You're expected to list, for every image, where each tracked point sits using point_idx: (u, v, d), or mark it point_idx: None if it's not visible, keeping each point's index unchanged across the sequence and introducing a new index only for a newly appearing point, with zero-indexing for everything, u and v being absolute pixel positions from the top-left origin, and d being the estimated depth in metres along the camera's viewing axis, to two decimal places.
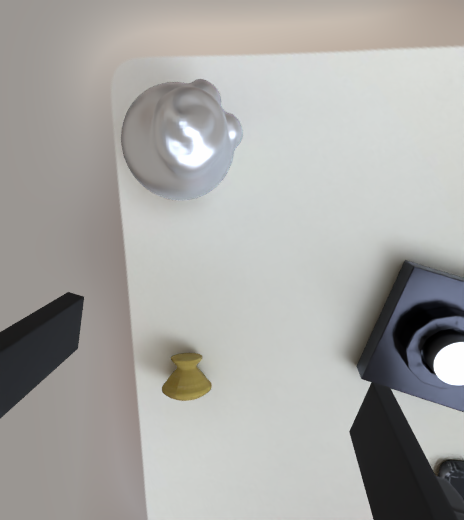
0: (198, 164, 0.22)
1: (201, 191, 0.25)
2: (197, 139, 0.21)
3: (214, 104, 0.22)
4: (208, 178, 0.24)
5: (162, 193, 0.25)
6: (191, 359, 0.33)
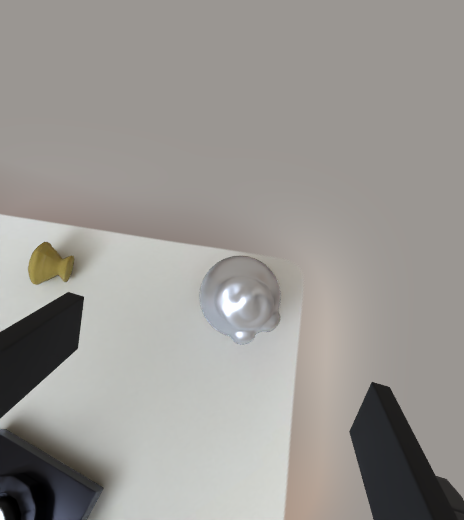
0: (220, 303, 0.31)
1: (203, 304, 0.33)
2: (236, 305, 0.30)
3: (259, 323, 0.31)
4: (211, 310, 0.32)
5: (206, 276, 0.34)
6: (66, 272, 0.38)
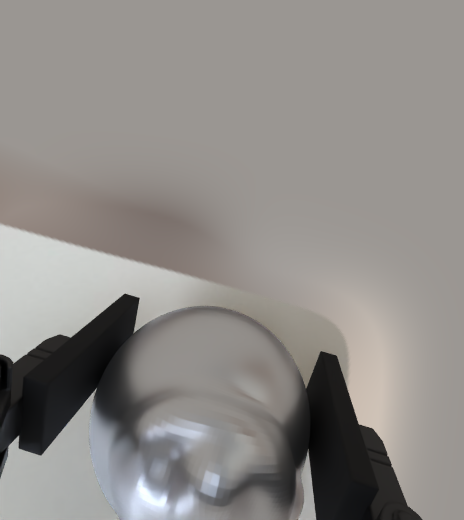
0: (118, 484, 0.09)
1: (89, 441, 0.12)
2: (168, 512, 0.08)
3: None
4: (101, 476, 0.11)
5: (115, 356, 0.12)
6: None
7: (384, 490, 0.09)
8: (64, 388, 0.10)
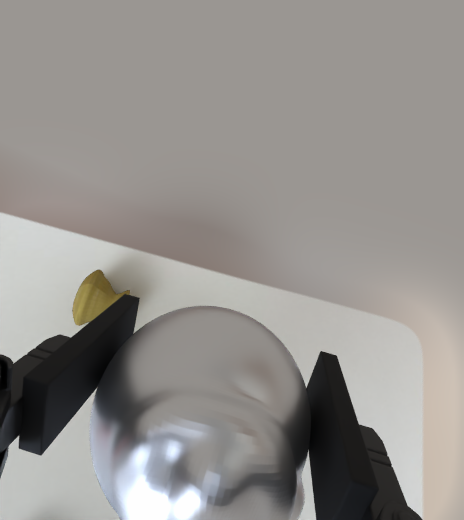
0: (118, 483, 0.09)
1: (90, 441, 0.12)
2: (168, 512, 0.08)
3: None
4: (102, 476, 0.11)
5: (115, 356, 0.12)
6: None
7: (384, 490, 0.09)
8: (64, 387, 0.10)
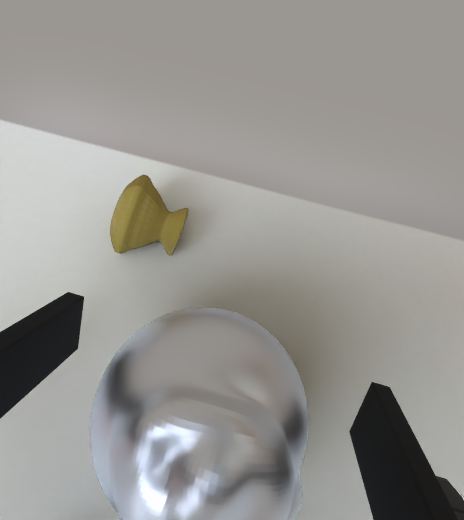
0: (119, 483, 0.09)
1: (90, 441, 0.12)
2: (168, 511, 0.08)
3: None
4: (102, 476, 0.11)
5: (115, 357, 0.13)
6: (179, 235, 0.20)
7: None
8: None
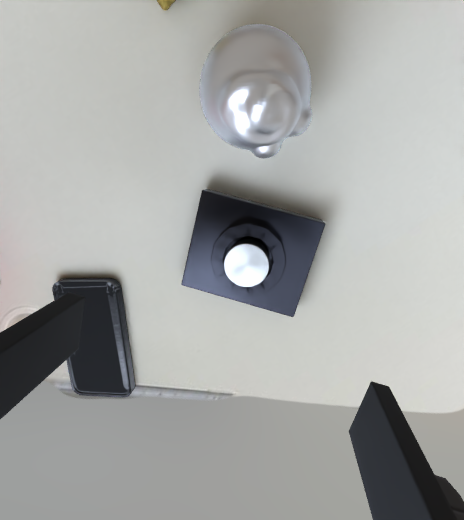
0: (227, 119, 0.23)
1: (207, 118, 0.26)
2: (249, 119, 0.22)
3: (283, 134, 0.23)
4: (219, 127, 0.25)
5: (202, 75, 0.24)
6: None
7: None
8: None
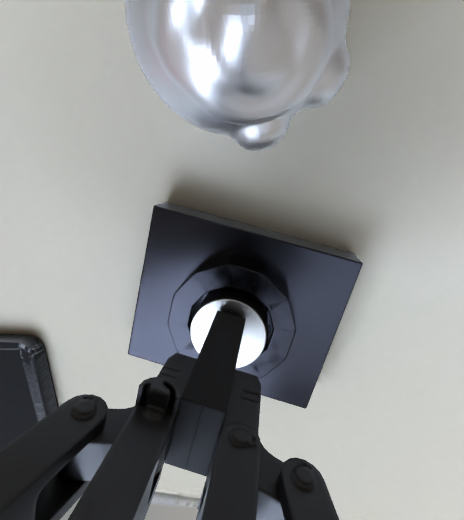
0: (171, 60, 0.10)
1: (144, 72, 0.13)
2: (216, 56, 0.10)
3: (293, 95, 0.11)
4: (164, 87, 0.12)
5: None
6: None
7: (242, 419, 0.11)
8: None
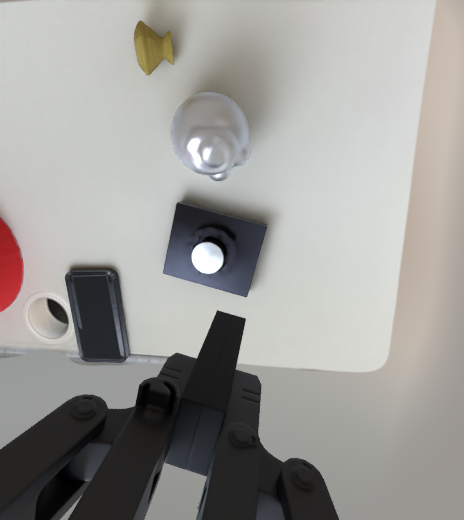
0: (187, 157, 0.34)
1: (177, 154, 0.36)
2: (201, 158, 0.33)
3: (226, 167, 0.34)
4: (184, 161, 0.36)
5: (172, 126, 0.35)
6: (172, 52, 0.37)
7: (241, 419, 0.11)
8: None
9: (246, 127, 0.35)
